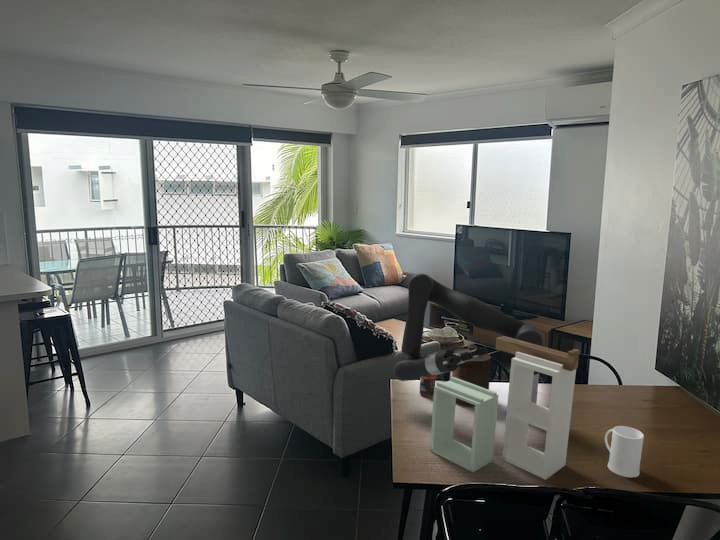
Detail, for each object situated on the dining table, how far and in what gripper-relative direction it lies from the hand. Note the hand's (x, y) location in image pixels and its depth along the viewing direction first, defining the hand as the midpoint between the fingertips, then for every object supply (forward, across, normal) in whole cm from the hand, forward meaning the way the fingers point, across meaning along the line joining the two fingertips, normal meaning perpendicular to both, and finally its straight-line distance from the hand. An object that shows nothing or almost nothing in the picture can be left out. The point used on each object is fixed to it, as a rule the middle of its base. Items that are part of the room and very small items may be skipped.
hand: (479, 352), depth 168 cm
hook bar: (+18, -1, +5) cm, 19 cm away
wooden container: (-28, +24, +17) cm, 41 cm away
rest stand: (-8, -14, +28) cm, 32 cm away
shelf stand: (+7, 0, +35) cm, 36 cm away
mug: (+23, +17, +44) cm, 52 cm away
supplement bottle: (-40, +15, +12) cm, 44 cm away
